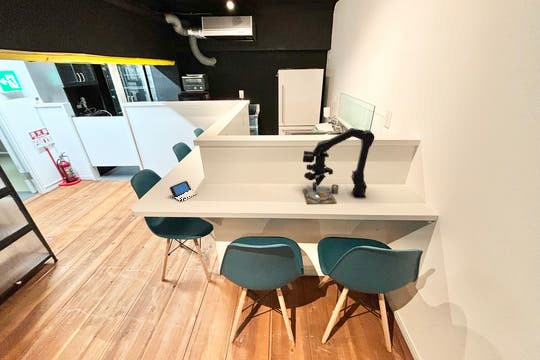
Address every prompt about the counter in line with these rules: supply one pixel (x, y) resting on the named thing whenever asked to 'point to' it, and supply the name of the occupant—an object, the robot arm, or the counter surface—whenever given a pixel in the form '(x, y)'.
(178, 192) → the handheld game console
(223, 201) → the counter surface
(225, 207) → the counter surface
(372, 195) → the counter surface
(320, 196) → the sprocket
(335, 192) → the roller
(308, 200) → the sprocket base
